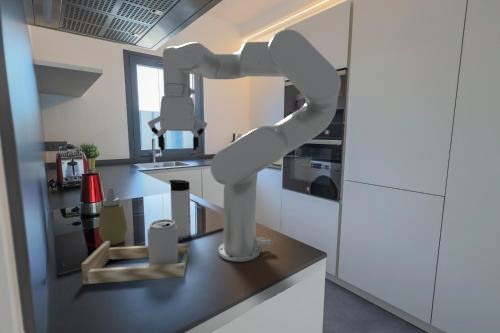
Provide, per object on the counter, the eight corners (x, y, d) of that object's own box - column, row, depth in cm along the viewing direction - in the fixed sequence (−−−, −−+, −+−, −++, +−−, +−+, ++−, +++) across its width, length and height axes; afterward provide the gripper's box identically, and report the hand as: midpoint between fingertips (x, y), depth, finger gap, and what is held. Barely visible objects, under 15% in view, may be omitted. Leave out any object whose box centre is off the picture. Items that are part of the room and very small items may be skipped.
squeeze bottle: (107, 236, 83) (104, 185, 81) (132, 236, 84) (129, 185, 81) (94, 247, 75) (89, 191, 73) (121, 247, 76) (117, 190, 73)
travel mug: (168, 235, 84) (166, 179, 82) (185, 230, 89) (184, 177, 86) (176, 241, 80) (174, 182, 77) (194, 236, 84) (192, 179, 82)
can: (169, 274, 61) (168, 229, 60) (143, 271, 63) (140, 226, 61) (183, 259, 68) (182, 218, 67) (159, 257, 70) (157, 216, 68)
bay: (189, 252, 72) (188, 236, 72) (183, 276, 60) (183, 257, 60) (106, 257, 69) (105, 241, 68) (83, 284, 57) (81, 264, 56)
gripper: (207, 95, 77) (207, 149, 80) (150, 93, 75) (152, 149, 77) (206, 91, 70) (207, 150, 72) (143, 89, 68) (146, 150, 70)
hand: (179, 150), depth 75 cm, fingers open, 9 cm apart
